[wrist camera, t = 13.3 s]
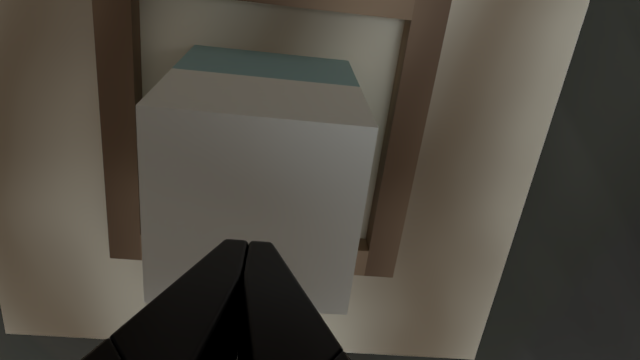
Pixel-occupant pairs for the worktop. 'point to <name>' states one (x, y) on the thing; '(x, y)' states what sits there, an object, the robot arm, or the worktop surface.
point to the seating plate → (386, 174)
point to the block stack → (255, 166)
